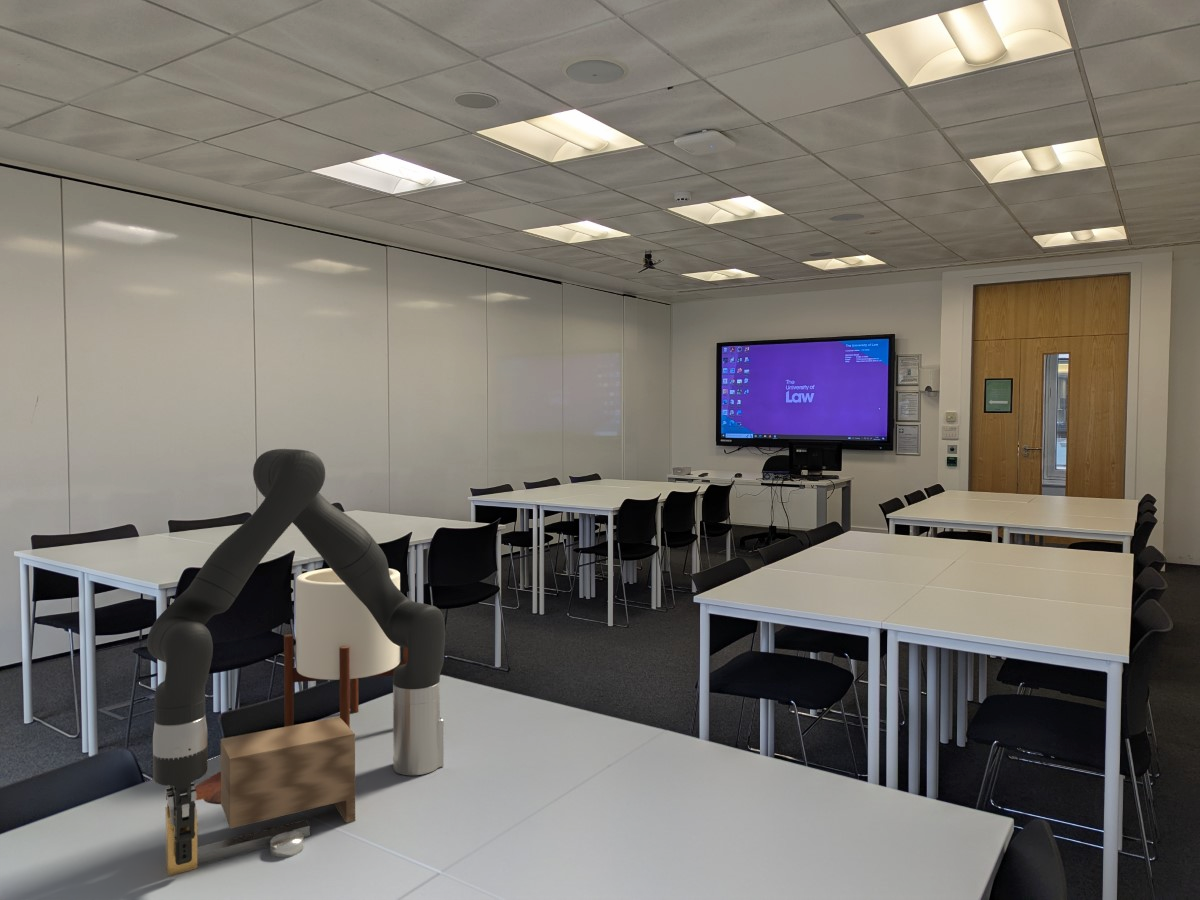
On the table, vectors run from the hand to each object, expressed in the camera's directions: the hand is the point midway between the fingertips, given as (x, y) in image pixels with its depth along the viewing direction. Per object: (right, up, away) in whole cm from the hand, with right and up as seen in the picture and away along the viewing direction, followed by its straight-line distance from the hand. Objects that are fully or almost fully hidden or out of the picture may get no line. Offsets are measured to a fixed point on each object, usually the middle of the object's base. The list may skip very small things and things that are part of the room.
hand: (181, 852), depth 125 cm
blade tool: (+7, -2, +5) cm, 9 cm away
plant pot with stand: (+9, -1, +57) cm, 57 cm away
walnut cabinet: (+12, -2, +13) cm, 18 cm away
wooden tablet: (-5, -2, +35) cm, 35 cm away
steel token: (+15, -2, +5) cm, 16 cm away
